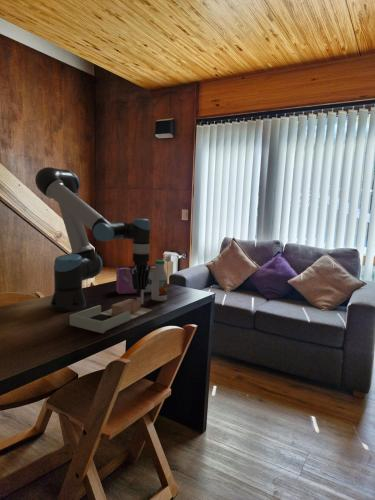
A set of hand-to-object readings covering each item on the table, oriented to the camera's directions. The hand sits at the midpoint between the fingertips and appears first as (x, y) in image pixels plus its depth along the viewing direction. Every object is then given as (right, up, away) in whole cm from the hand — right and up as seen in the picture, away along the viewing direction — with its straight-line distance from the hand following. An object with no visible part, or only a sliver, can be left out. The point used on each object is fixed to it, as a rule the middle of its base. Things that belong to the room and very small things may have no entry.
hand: (140, 303), depth 160 cm
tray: (-12, -4, -23) cm, 26 cm away
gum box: (-5, +2, +31) cm, 31 cm away
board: (-5, -3, -9) cm, 10 cm away
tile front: (-6, -3, -12) cm, 13 cm away
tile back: (-3, -2, -6) cm, 7 cm away
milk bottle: (+8, -1, +15) cm, 17 cm away
